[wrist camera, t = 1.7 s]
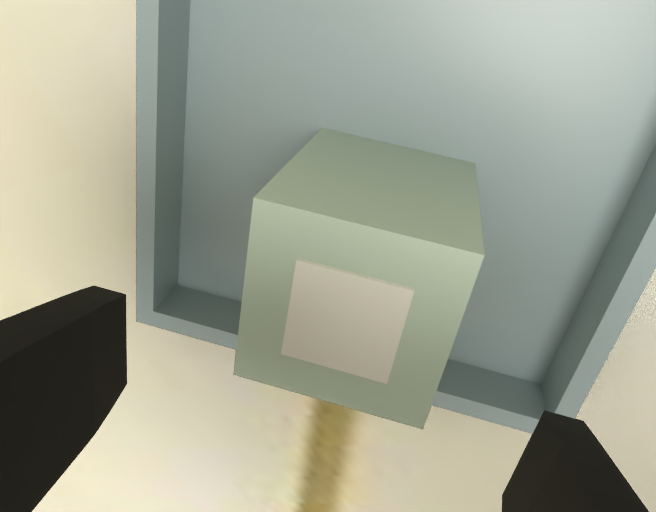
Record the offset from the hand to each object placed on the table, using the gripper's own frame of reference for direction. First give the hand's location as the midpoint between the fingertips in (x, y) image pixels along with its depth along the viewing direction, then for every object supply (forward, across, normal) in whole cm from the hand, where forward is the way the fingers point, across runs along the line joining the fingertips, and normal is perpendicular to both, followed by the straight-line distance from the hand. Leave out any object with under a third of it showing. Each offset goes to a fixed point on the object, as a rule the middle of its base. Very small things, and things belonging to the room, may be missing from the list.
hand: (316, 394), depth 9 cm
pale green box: (+8, 0, 0) cm, 8 cm away
